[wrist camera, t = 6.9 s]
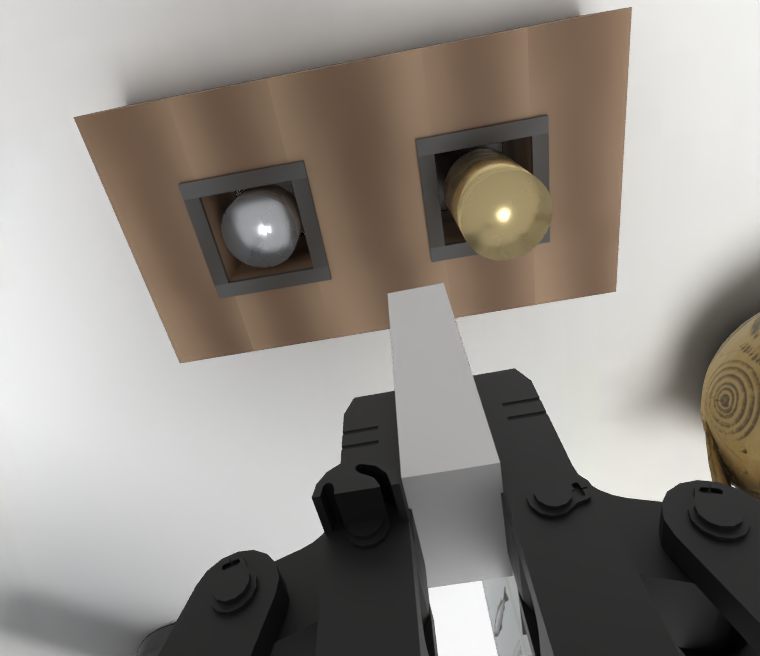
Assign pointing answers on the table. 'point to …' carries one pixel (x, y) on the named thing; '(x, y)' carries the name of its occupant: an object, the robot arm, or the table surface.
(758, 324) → the ceramic bowl
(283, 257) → the steel peg
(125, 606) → the table surface
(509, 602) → the supplement box
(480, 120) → the walnut block
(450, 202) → the brass peg
